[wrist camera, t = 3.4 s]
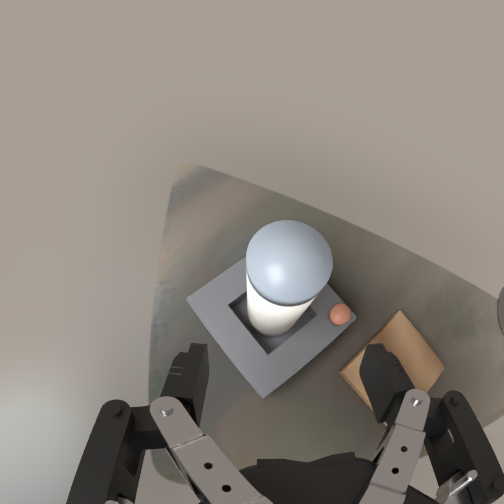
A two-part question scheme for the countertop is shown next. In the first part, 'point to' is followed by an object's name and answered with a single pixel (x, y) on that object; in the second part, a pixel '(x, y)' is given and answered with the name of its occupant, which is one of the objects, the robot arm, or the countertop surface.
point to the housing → (260, 348)
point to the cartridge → (284, 275)
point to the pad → (399, 356)
